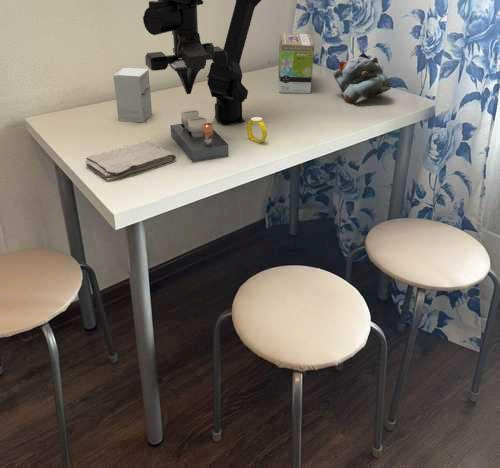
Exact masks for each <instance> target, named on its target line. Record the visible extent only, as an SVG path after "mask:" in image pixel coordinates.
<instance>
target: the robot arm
mask: <svg viewBox="0 0 500 468" xmlns="http://www.w3.org/2000/svg"><path fill="white" fill-rule="evenodd" d="M261 1H262V0H235V4H234V8H233V12H232V15H231V19H230V23H229V26H228V30H227V34H226V37H225V41H224V45H223V47H222V48H221V47H220V46H219V45H218V46H215V45H214V43H213V42H207V43H202V41H201V36H200V32H199V30H198V29H199V26H198V25H199V24H198V6H200V5H203V4H204V1H203V0H150V1H148V7H147V8H146V9H145V10H144V13H143V16H142V21H143V25H144V28H145V29H146V31H147V32H148V33H149V34H150V35H152V36H158V35H162V34H165V33H170V32H171V35H172V36H173V37H172V38H173V39H172V40H173V48H172V53H173V54H171V55H170V54H169V55H166V54H165V53H164V52H162V51H155V52H147V53H146V54H145V56H144V57H145V59H144V61H145V66H146V67H148V69H150V71H152V72H153V71H154V72H156V71H163V70H164V71H165V70H167V68H168V67H169V68H171V69H172V70H173V71H174V72H176V73H177V75H178V78H179V79H180V83H181V84H182V86H183V88H184V91H185V93H186V94H187V95H191V94H192V90H193V88H194V84H195V80H196V78H197V76H198V74H199V72H200V71H201V70H204V69H205V68H206V65H207V61H209V60H210V61H212V62H211V64H210V67H209V71H208V74H207V76H206V77H207V86H208V88H209V92H210V95H211V97H212V98H215V100H216V102H215V103H214V118H215V119H216V120H217V122H219V124H221V125H222V126H226V125H233V124H239V123H245V119H244V118H243V102H245V100H247V98H248V93H249V90H248V89H247V88H246V86H244V84H243V83H242V80H243V73H242V69H241V60H242V55H243V51H244V49H245V45H246V41H247V38H248V33H249V29H250V28H251V27H250V26H251V23H252V18H253V16H254V11H255V8H256V7H257V6H258V5H259V4H260V3H261Z"/></svg>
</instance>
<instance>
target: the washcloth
mask: <svg viewBox="0 0 500 468" xmlns="http://www.w3.org/2000/svg"><path fill="white" fill-rule="evenodd" d="M176 158H177V156H176V155H175V154H174V153H173V152H170V151H168V150H166V149H163V148H161V147H160V146H159V145H157V144H155V143H153V142H151V141H149V140H143V141H140V142H136V143H132V144H128V145H125V146H121V147H118V148H114V149H110V150H107V151H104V152H100V153H97V154H96V153H95V154H93V155H89V156H87V157H86V158H85V159H86V160H85V163H86V166H87V167H88V168H89V170H90V171H92V172H93V173H95V174H97V175H98V176H99V177H100V178H101V179H103V180H104V181H106V182H114V181H118V180H122V179H126V178H128V177H129V178H130V177H132V176H135V175H137V174H142V173H145V172H148V171H151V170H153V169H157V168H159V167H163V166H165V165H169V164H173V162H175V161H176Z"/></svg>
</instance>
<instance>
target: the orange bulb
mask: <svg viewBox="0 0 500 468" xmlns="http://www.w3.org/2000/svg"><path fill="white" fill-rule="evenodd" d="M213 125H214V124H213V123H210V122H206V123H204V124H202V133H203V138H204V140H205V146H211V145H212V144H211V138H213V130H214V126H213Z"/></svg>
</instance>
